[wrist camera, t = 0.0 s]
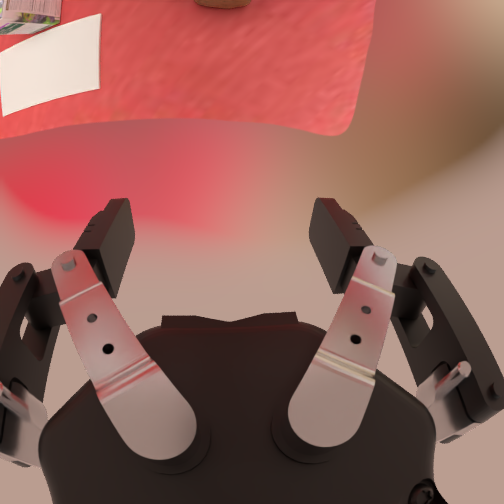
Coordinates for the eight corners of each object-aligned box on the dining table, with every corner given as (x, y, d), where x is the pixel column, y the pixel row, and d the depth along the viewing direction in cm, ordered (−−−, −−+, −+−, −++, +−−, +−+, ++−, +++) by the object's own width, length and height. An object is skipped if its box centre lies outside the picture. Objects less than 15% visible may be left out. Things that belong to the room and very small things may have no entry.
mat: (2, 52, 19) (0, 52, 19) (102, 13, 22) (100, 13, 22) (5, 115, 27) (3, 116, 26) (100, 88, 29) (99, 88, 29)
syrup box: (32, 35, 20) (-29, 40, 9) (34, 4, 16) (-24, 1, 5) (60, 23, 21) (1, 20, 9) (63, -9, 17) (7, -21, 6)
